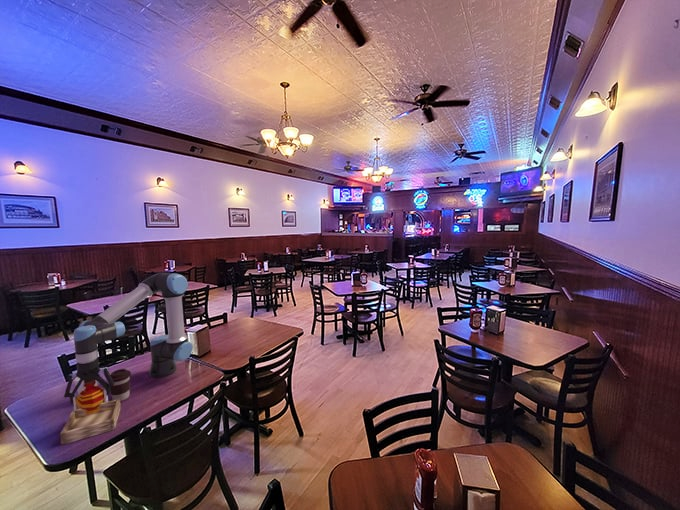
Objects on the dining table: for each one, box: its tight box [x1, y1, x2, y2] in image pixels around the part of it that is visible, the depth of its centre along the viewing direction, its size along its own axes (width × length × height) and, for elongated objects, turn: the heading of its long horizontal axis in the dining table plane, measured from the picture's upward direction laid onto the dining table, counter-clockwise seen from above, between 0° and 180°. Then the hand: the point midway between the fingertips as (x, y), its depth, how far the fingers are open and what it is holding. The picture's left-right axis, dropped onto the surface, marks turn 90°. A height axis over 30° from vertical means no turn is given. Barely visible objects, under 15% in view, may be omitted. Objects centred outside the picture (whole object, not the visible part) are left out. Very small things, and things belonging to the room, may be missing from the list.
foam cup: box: [74, 376, 98, 395], centre depth 151 cm, size 10×9×13 cm
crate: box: [59, 398, 122, 446], centre depth 132 cm, size 18×18×5 cm
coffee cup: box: [110, 368, 132, 402], centre depth 152 cm, size 10×10×15 cm
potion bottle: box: [76, 379, 105, 415], centre depth 131 cm, size 10×10×15 cm
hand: (91, 405), depth 131 cm, fingers closed on potion bottle, 10 cm apart
